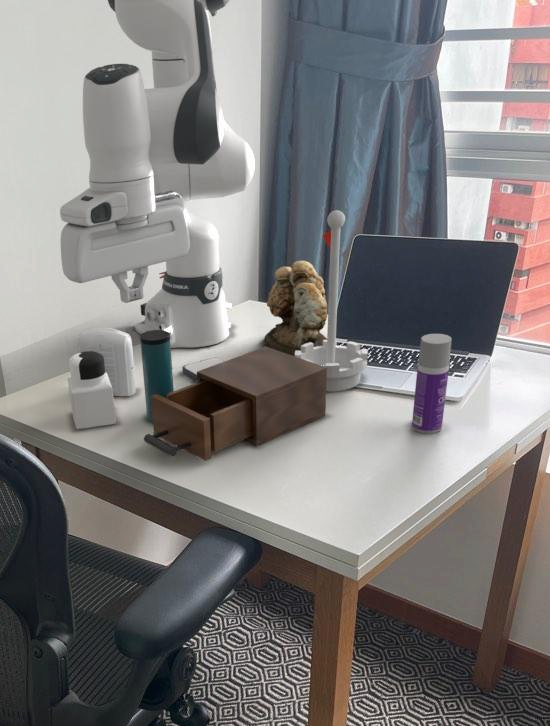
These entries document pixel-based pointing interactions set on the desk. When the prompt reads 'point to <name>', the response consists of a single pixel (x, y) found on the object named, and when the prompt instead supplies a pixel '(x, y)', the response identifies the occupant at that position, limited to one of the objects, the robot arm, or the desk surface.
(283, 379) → the cabinet
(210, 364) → the phone case
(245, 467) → the desk surface
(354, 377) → the flag stand
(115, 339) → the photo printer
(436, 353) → the container
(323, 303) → the owl figurine
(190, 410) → the drawer
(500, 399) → the desk surface
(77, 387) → the medicine bottle
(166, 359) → the tin
